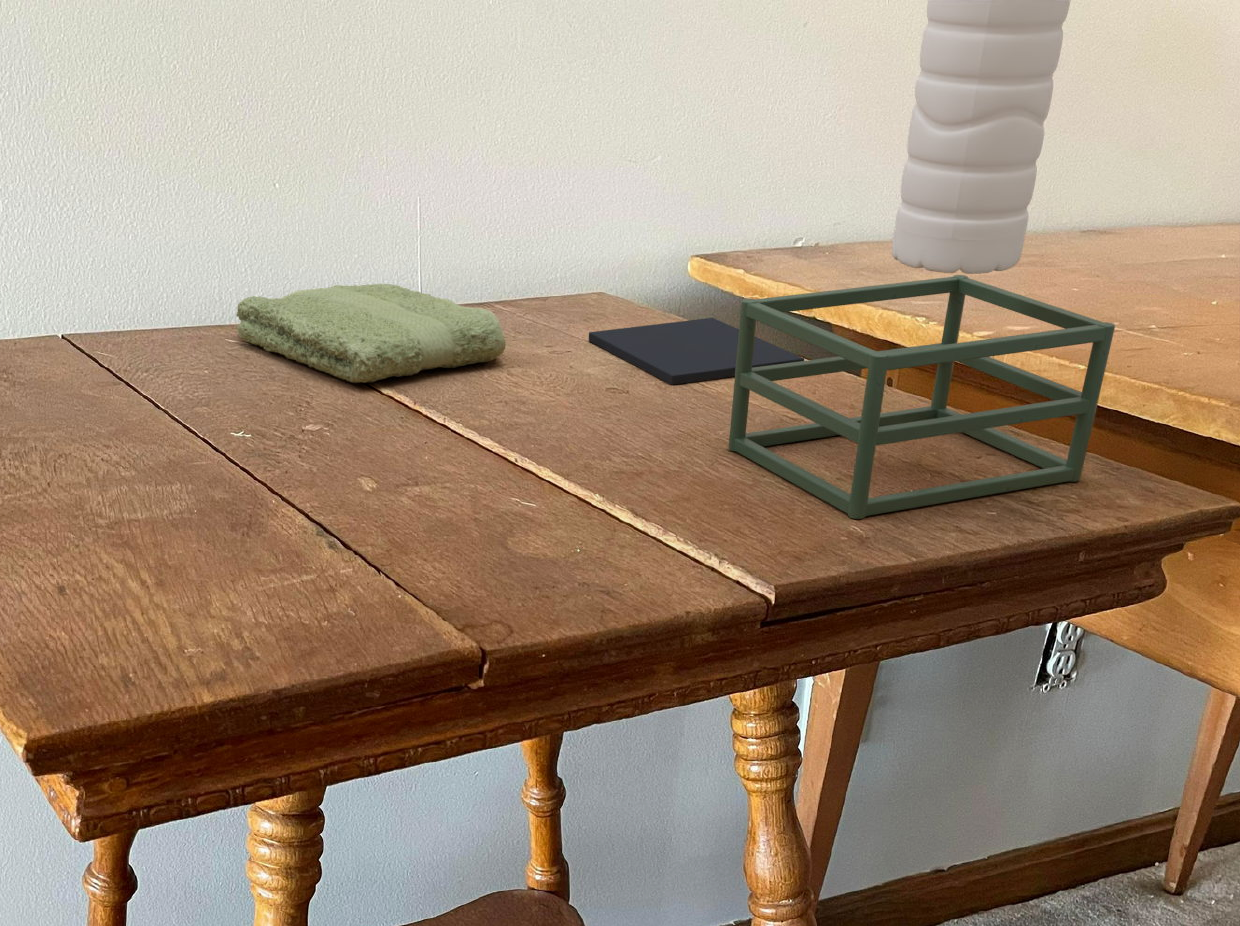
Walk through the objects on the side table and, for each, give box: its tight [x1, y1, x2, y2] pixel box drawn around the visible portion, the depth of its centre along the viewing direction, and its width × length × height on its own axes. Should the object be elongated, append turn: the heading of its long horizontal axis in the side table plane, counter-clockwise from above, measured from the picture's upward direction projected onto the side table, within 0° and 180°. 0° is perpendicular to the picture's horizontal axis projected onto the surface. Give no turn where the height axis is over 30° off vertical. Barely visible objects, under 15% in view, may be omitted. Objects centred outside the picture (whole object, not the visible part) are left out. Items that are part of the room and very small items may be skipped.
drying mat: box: [588, 317, 805, 386], centre depth 104 cm, size 12×10×1 cm
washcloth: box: [235, 283, 507, 383], centre depth 104 cm, size 13×18×3 cm
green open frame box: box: [728, 274, 1116, 520], centre depth 83 cm, size 13×15×8 cm
